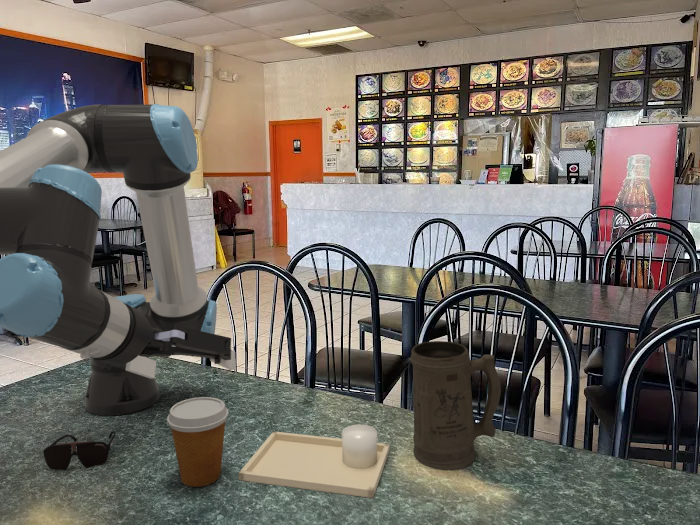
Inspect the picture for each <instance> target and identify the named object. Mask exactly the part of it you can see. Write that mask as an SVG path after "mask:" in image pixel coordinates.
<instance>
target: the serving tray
mask: <svg viewBox="0 0 700 525" xmlns="http://www.w3.org/2000/svg"><path fill="white" fill-rule="evenodd" d="M390 446H391V445H390V443H382V442H377V462H376V464H374V465H373V466H371V467H368V468H363V469H357V468H351V467H348V466H346V465H345V464H344V463H343V461H342V438H338V437H337V438H336V437H327V436H319V435H309V434H301V433H290V432H284V431H283V432H280V431H272V433H271V434H270V435H269V436H268V437H267V438H266V439H265V441H264V442H263V443H262V444H261V446H259V448H258V449H257V450H256V451H255V453H254V454H253V455H252V456H251V457H250V459H249V460H248V461H247V462H246V463H245V465H244V466H243V467H242V468H241V469H240V471H239V472H238V480H239V481H242V482H251V483H258V484H265V485H272V486H279V487H280V486H281V487H285V488H286V487H287V488H293V489H294V488H295V489H302V490H310V491H315V492H316V491H317V492H324V493H330V494H331V493H332V494H340V495H347V496H353V497H360V498H361V497H362V498H369V499H374V498H375V495H376V491H377V488H378V485H379V483H380V481H381V476H382V473H383V471H384V468H385V465H386V462H387V459H388V456H389V454H390V449H391V448H390Z"/></svg>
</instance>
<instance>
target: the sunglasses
mask: <svg viewBox="0 0 700 525" xmlns="http://www.w3.org/2000/svg"><path fill="white" fill-rule="evenodd" d="M116 435H117V434H116V431H115V430H112V431H111V432H110V433H109V434H108V436H107V439H108V440H109V442H108V443H107V442H105V441H92V440H90V441H89V440H88V441H79V439H78V438H76V437H75V436H74V435H71V434H66V435H64V436H61V437H59V438H57V439H56V440H55V441H54V442H53V443H51V444H50V445H49V446H46V447H45V448H44V449H43V451H42V453H43V457H44V461H45V463H46V465H47V467H48V468H49V469H51V470H53V469H55V470H57V469H59V471H66V470H67V469H68V468H69V466H70V464H71V460H72V458H73V456H76V457H77V458H78V460H79V462H80V464H81V465H82V466H83V467H84V468H85V469H90V468H92V467H98V466H101V465H103V464H105V463H106V462H107V461H108V459H109V455H110V451H111V448H112V446H113V444H114V442H115V438H116ZM67 437H69V438H71V439H72V440H73V442H64V443H59V442H60V441H62V440H64V439H65V438H67ZM57 471H58V470H57Z"/></svg>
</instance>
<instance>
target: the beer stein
mask: <svg viewBox="0 0 700 525" xmlns="http://www.w3.org/2000/svg"><path fill="white" fill-rule="evenodd" d="M410 353H411V354H410V356H409V359H410V360H409V361H410V362H411V365H412V386H413V387H412V388H413V390H412V391H413V439H412V440H413V456H414V458H415V459H416V461H418V462H419V464H422V465H423V466H425V467H428V468H431V469H434V470H440V471H457V470H462V469H465V468H467V467H469V466H471V465H472V464H473V463H474V461H475V458H476V451H475V444H474V442H475V440H476V439H477V437H480V436H486V437H491V438H494V437H495V434H496V427H495V425H494V424H493V419H494V416H495V413H496V411H497V408H498V406H499V403H500V400H501V399H500V398H501V393H502V388H501V387H502V386H501V384H502V383H501V380H500V376H499V374H498V371H497V369H496V366H495V356H494V355H492V354H483V355H482V356H481V357H480V358H476V359H473V360H471V356H470V354H469V350H468V348H467V347H466V346H465V345H464V344H462V343H458V342H454V341H443V340H441V341H440V340H435V341H431V340H430V341H423V342H421V343H417V344H415V345H414V346H412V349H411V351H410ZM477 371H479V372H480V371H481V372H483V373H484V374H485V376H486V379H487V388H488V389H487V390H488V391H487V396H486V397H487V398H486V404H485V407H484V411H483V414H482V416H481V419H480V421H479V422H478V423H474V412H473V411H474V410H473V409H474V408H473V397H472V396H473V395H472V394H473V393H472V383H471V382H472V381H471V377H472V375H473V374H474V373H475V372H477Z"/></svg>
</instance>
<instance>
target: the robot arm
mask: <svg viewBox="0 0 700 525" xmlns="http://www.w3.org/2000/svg"><path fill="white" fill-rule="evenodd" d="M190 120H191V119H190V118H189V117H188V115H187V113H186V112H185V111H184V110H183V109H182V108H181V107H179V106H175V105H163V104H159V103H154V104H153V103H152V104H89V105H84V106H80V107H79V106H78V107H76V108H72V109H69V110H66V111H62V112H60V113H58V114H55V115H53V116H51V117H48V118H46V119H44V120H41V121H40V122H38V123H36V124H35V125H33V126H32V127H31V128H30V129H29V130H28V132H27V134H26V137H24V138H22V139H21V140H19V141H17V142H15V143H13V144H11V145H9V146H7V147H5V148H3V149H1V150H0V255H4V256H3V257H1V258H0V328H2V329H4V330H7V331H10V332H11V333H13V334H15V335H17V336H20V337H24V338H30V339H33V340H35V341H39V342H42V343H45V344H50V345H53V346H55V347H59V348H61V349H64V350H67V351H71V352H73V353H76V354H79V355H80V359H83V360H87V359H89V358H90V365H91V367H90V368H91V373H90V377H89V381H88V385H87V387H86V388H87V389H86V391H85V392H86V393H85V396H84V404H85V406H84V407H85V410H86V411H87V412H88V413H91V414H93V415H97V416H120V415H128V414H132V413H135V412H138V411H142V410H145V409H147V408H149V407H151V406H153V405H155V404H156V403H157V402H158V401H159V400H160V386H159V384H158V383H157V380H156V369H157V368H156V367H157V361H156V360H154V359H151V358H150V357H152V356H153V357H160V358H161V357H162V358H169V357H171V356H184V357H185V356H186V357H197V358H204V359H205V358H206V359H209V361H210V362H212V363H214V365H218V366H221V367H223V368H225V369H227V370H229V371H235V370H236V369H235V368H236V367H235V366H236V364H235V363H236V352H235V351H234V350H232V338H231V337H229V336H225V335H220V334H215V333H216V331H215V330H216V325H217V324H216V323H217V313H218V312H217V311H218V310H217V309H218V308H217V301H215V300H212V299H208V296H207V292H206V291H205V290H204V289H203V288H202V287H201V286H199V284H198V278H197V277H198V276H197V270H196V263H195V255H194V248H193V242H192V235H191V229H190V228H191V227H190V221H189V220H190V219H189V213H188V207H187V200H186V192H185V186H186V185H187V184H188V183H189V182H190V181H191V177H192V175H191V173H193V172H195V171H196V170H197V169H198V168H197V167H198V162H199V159H198V158H199V156H198V151H197V150H198V145H197V140H196V136H195V132H194V128H193V126H192V122H191V121H190ZM90 173H122V175H123V179H124V183H125V186H126V187H127V188H128V189H130V190H132V191H133V192H135V194H136V200H137V204H138V205H137V206H138V210H139V216H140V220H141V224H142V226H141V227H142V230H143V235H144V236H143V237H144V239H145V240H144V241H145V245H146V250H147V256H148V260H149V266H150V270H151V277H152V281H153V286H154V292H155V293H154V294H153V295H152V297H151V298H150V300H149V301H147V299H146V296H145V295H144V294H142V293H141V294H137V293H133V294H126V295H120V296H114V297H113V296H112V295H111V294H108V293H106V292H104V291H103V290H100V289H99V288H96V287H95V286H93V285H91V284H90V280H91V274H92V265H93V260H94V255H95V248H96V243H97V236H98V231H99V226H100V225H99V224H100V221H101V219H102V218H101V217H102V215H101V205H102V193H103V192H102V187H101V184H100V183H99V182H98V181H97V179H96V178H95V177H94V176H93V175H91V174H90Z"/></svg>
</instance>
